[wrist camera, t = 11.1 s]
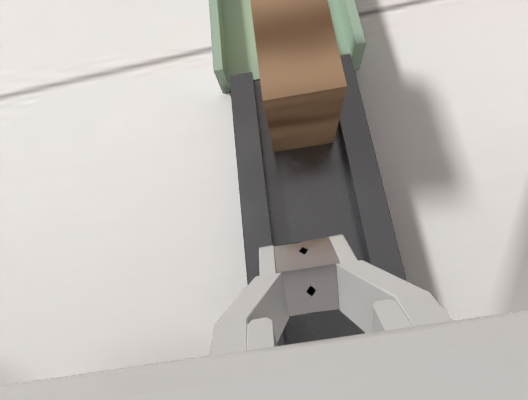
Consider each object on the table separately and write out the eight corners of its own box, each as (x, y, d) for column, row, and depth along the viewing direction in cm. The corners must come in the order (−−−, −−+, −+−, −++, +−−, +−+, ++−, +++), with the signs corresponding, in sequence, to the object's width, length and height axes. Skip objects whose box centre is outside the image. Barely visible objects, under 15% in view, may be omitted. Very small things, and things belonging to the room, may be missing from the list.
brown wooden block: (333, 142, 23) (347, 86, 16) (273, 152, 23) (262, 100, 17) (314, 46, 26) (319, -36, 19) (261, 56, 26) (247, -20, 20)
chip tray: (359, 68, 26) (366, 42, 23) (222, 92, 27) (213, 70, 24) (332, -38, 30) (335, -72, 27) (214, -13, 31) (206, -43, 28)
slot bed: (410, 330, 20) (424, 336, 17) (255, 344, 21) (250, 352, 18) (348, 73, 26) (353, 53, 24) (233, 93, 27) (226, 76, 25)
